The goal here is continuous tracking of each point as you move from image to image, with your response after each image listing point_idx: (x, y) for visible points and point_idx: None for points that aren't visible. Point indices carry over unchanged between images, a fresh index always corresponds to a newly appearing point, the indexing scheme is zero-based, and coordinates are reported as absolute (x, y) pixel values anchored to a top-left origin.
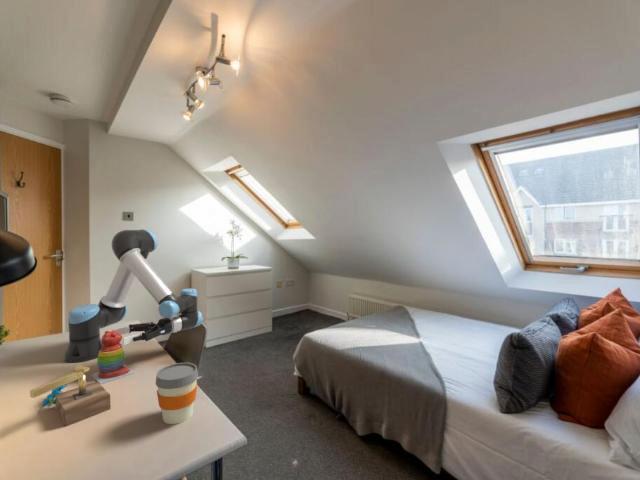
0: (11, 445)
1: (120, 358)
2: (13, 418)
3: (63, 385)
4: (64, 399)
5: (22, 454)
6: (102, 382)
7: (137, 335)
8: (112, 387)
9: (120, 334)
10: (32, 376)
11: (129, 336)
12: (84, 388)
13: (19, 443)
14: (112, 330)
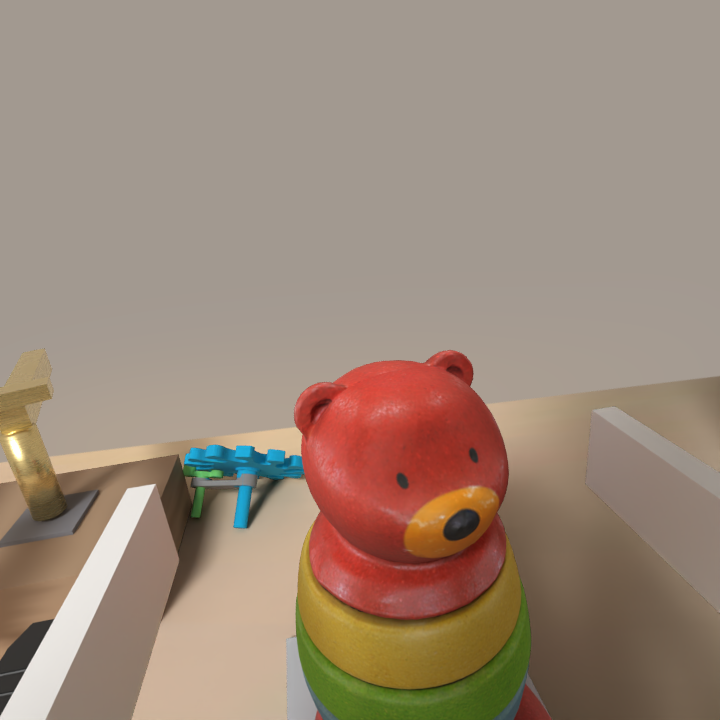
0: (91, 456)
1: (312, 686)
2: (247, 440)
3: (190, 450)
4: (96, 476)
5: (12, 476)
6: (290, 651)
7: (31, 681)
8: (165, 713)
9: (653, 543)
10: (581, 430)
11: (109, 543)
12: (22, 494)
13: (78, 465)
14: (605, 411)
